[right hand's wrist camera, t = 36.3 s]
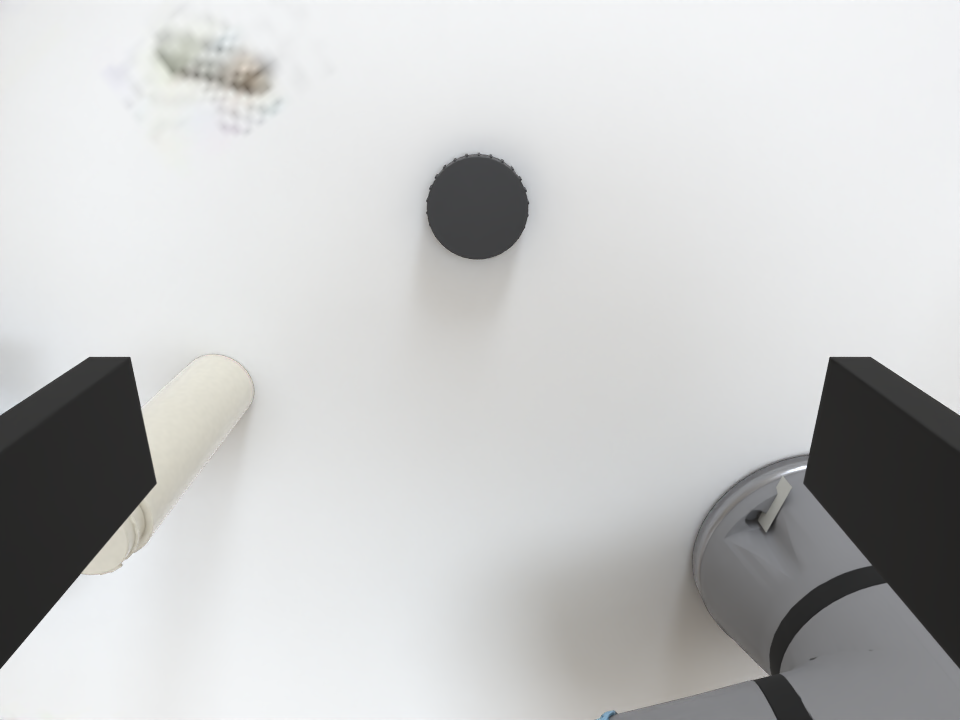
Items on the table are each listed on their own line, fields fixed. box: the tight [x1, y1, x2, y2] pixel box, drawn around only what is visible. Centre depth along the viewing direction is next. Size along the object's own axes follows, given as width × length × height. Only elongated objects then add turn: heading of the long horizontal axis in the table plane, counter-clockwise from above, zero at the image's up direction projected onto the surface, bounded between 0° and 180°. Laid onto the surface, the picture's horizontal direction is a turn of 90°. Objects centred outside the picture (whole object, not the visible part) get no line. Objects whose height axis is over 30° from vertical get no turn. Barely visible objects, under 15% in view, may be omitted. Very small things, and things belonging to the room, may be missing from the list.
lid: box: [426, 153, 529, 259], centre depth 36 cm, size 6×6×2 cm
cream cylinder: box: [81, 354, 254, 575], centre depth 34 cm, size 4×4×15 cm
